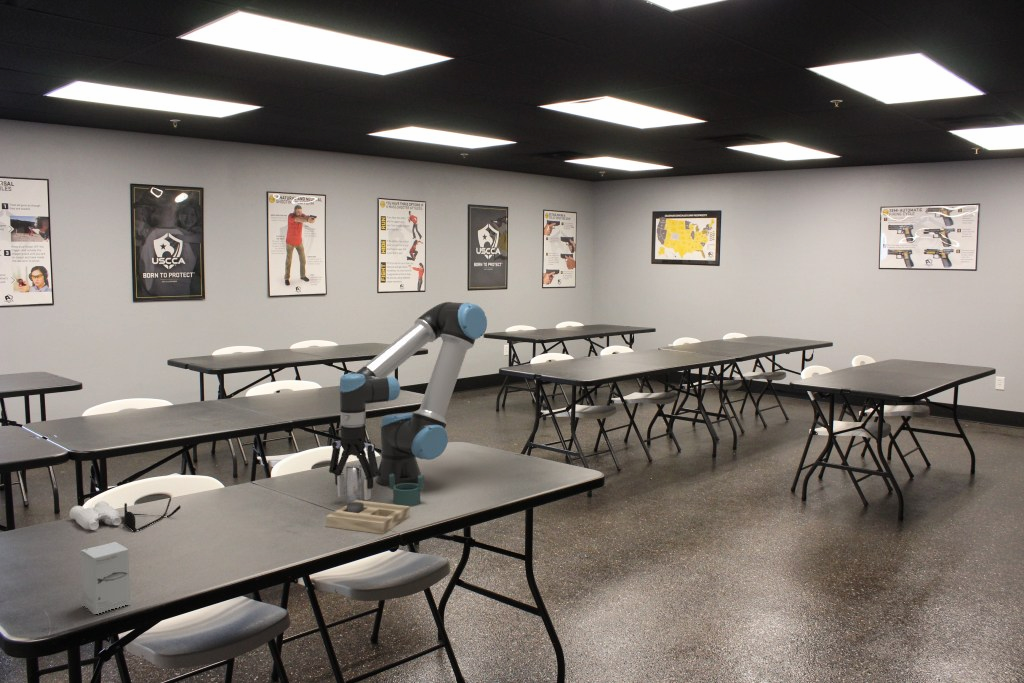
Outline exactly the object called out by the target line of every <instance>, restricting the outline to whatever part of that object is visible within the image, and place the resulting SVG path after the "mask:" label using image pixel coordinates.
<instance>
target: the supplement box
mask: <svg viewBox="0 0 1024 683" xmlns="http://www.w3.org/2000/svg"><path fill="white" fill-rule="evenodd" d="M129 553H130V552H129V549H128V548H127V547H125V546H123V545H122V544H120V543H118V542H117V541H114V542H113V541H112V542H110V543H104V544H101V545H98V546H92V547H89V548H85V549H81V550H80V554H79V555H80V570H81V571H80V573H81V594H82V595H81V596H82V599H81V600H82V606H83V605H84V606H86V607H87V608H88V609H89V610H90V611H92V612H93V613H94V614H98V615H100V614H99V613H101V614H103V613H102V612H104V613H106V612H105V611H107V612H109V611H108V610H110V611H112V610H111V609H114V610H116V609H115V608H117V609H120V608H123V607H122V606H124V607H126V606H125V605H128V606H130V605H131V584H130V581H131V580H130V557H129V556H130V554H129ZM129 604H130V605H129ZM84 606H83V607H84ZM119 607H120V608H119ZM88 609H87V610H88ZM89 610H88V611H89ZM90 611H89V612H90ZM93 613H92V614H93ZM94 614H93V615H94Z"/></svg>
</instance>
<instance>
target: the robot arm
mask: <svg viewBox="0 0 1024 683" xmlns="http://www.w3.org/2000/svg"><path fill="white" fill-rule="evenodd" d="M487 319H488V318H487V316H486V312H485V311H484V309H483V308H482V307H481V306H479V305H478V304H475V303H470V302H454V301H453V302H452V301H445V302H441V303H438V304H437V305H434V307H431V308H430V309H429V310H426V312H424V313H423V314H422V315H420V316H419V317H417V319H415V320H414V325H413V326H411V327H410V328H409V329H408V330H406V331H405V332H404V333H403V334H402V335H400V336H399V337H398V338H397V339H395V340H394V341H393V342H392V343H391V344H389V345H388V346H387V347H385V348H384V349H383V350H382V351H380V352H379V353H378V354H377V355H376V356H375V357H373V358H372V359H371V360H370V361H369V362H367V363H366V364H365V365H363V366H362V367H360V368H359V370H357V371H353V372H348V373H346V374H343V375H341V377H340V378H339V408H340V411H339V412H340V413H339V414H340V424H341V425H340V438H341V439H340V440H335V441H332V442H331V446H332V451H331V452H332V453H331V457H330V463H329V470H328V472H329V474H333V475H334V480H335V481H334V484H335V486H337V487H336V488H337V497H338V498H341V497H343V496H344V495H345V474H344V472H343V471H344V468H345V466H346V464H347V462H348V459H349V457H350V456H354V457H356V459H357V460H358V461H359V464H360V466H361V469H362V470H363V473H364V476H365V478H364V479H363V489H364V490H363V494H364V495H363V496H364V500H363V501H367V500H368V501H369V499H371V498H372V489H373V488H374V478H375V479H376V483H377V484H380V485H382V486H387V487H389V475H390V474H395V485H397V484H402V483H414V484H418V475H422V473H421V469H420V466H419V463H418V461H417V459H420V460H428V461H429V460H434V459H436V458H438V457H440V456H441V455H442V454H443V453H444V452H445V451H446V448H447V446H448V443H449V436H448V432H447V430H446V427H447V421H446V419H445V415H446V413H447V410H448V406H449V404H450V401H451V398H452V396H453V392H454V389H455V386H456V383H457V380H458V378H459V374H460V372H461V369H462V366H463V362H464V359H465V357H466V354H467V352H468V350H470V349H472V348H473V347H474V345H475V342H476V340H478V339H479V338H481V337H483V336H484V334H485V333H486V331H487V327H488V320H487ZM439 338H441V340H442V344H441V347H440V350H439V353H438V355H437V358H436V360H435V363H434V366H433V369H432V372H431V375H430V378H429V381H428V384H427V385H426V386H427V387H426V390H425V393H424V396H423V397H422V401H421V404H420V407H419V409H417V410H415V411H414V412H405V413H404V412H401V413H393V414H391V413H390V414H386V415H384V416H382V417H381V418H380V419H381V420H380V443H381V446H380V447H381V448H380V451H381V458H380V463H379V465H378V461H377V457H376V451H375V449H376V445H375V443H367V441H366V437H367V434H366V432H367V427H366V425H365V424H366V422H367V421H366V419H367V418H366V417H367V416H366V415H367V414H366V405H367V404H368V405H369V404H376V403H383V402H390V401H394V400H397V398H399V396H400V393H401V386H400V382H399V380H398V379H397V378H396V377H394V376H389V375H390V374H392V373H393V372H394V371H395V370H397V369H398V368H399V367H401V365H402V364H404V363H405V362H407V360H409V359H411V357H413V355H414V354H416V353H417V352H418V351H420V349H422V348H423V347H424V346H425V345H426V344H428V343H434V342H435V341H436V340H437V339H439ZM341 448H342V449H343V450H342V452H341ZM365 451H366V452H365ZM340 452H341V454H340ZM340 455H341V456H340Z"/></svg>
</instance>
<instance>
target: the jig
mask: <svg viewBox="0 0 1024 683" xmlns="http://www.w3.org/2000/svg"><path fill="white" fill-rule="evenodd" d="M410 517H411V507H410V506H402V505H394V504H393V503H383V502H375V501H369V500H368V501H367V500H362V501H360V500H355V501H353V502H351V503H349V504H347V503H346V505H344V506H342V507H341V508H339V509H337V510H335V511H333V512H331V513H329V514H328V515H326V527H328V528H334V529H335V528H336V529H344V530H350V531H357V532H365V533H366V532H367V533H373V534H379V535H380V534H381V535H384V534H385V533H387V532H388V531H390V530H391V529H393V528H395V527H396V526H397V525H399V524H400V523H402V522H404V521H405V520H407V519H408V518H410Z"/></svg>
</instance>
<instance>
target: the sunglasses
mask: <svg viewBox="0 0 1024 683" xmlns="http://www.w3.org/2000/svg"><path fill="white" fill-rule="evenodd" d="M171 502H172V497H169V499H168V503H167V506H166V507H165V508H166V509H165V511H164V513H163V514H162V515H160V516H161V517H157V519H155V520H153V521H151V522H148V523H147V524H144V525H143V526H141V527H138V528H136V516H134V515H146V514H145V513H143V514H142V513H134V512H132V511H128V504H127V502H125V503H124V504H123V505H124V510H123V511H124V517H125V518H124V523H123V524H124V525H125V527H127V526H128V527H129V528H131V529H132V530H133V531H136V532H138V531H137V530H139V531H141V530H140V529H142V530H144V529H146V528H148V527H150V526H151V525H150V524H152V523H154V522H155V523H157V522H159V521H160V520H162V519H163V518H165V517H164V516H167V517H168V518H171V517H172V516H173V515H174V514H176V513H177V512H178V511H179V510H180V509H181V505H178V506H177V507H176V508H175V509H174V510H173V511H172V512H170V513H169V514H168V515H167V513H168V510H169V507H170V504H171ZM161 518H162V519H161ZM158 520H159V521H158ZM156 521H157V522H156ZM155 523H154V524H155ZM149 525H150V526H149ZM152 525H153V524H152ZM147 526H148V527H147ZM128 527H127V528H128ZM145 527H146V528H145ZM129 528H128V529H129ZM143 528H144V529H143ZM131 529H130V530H131ZM133 531H132V532H133Z"/></svg>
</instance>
